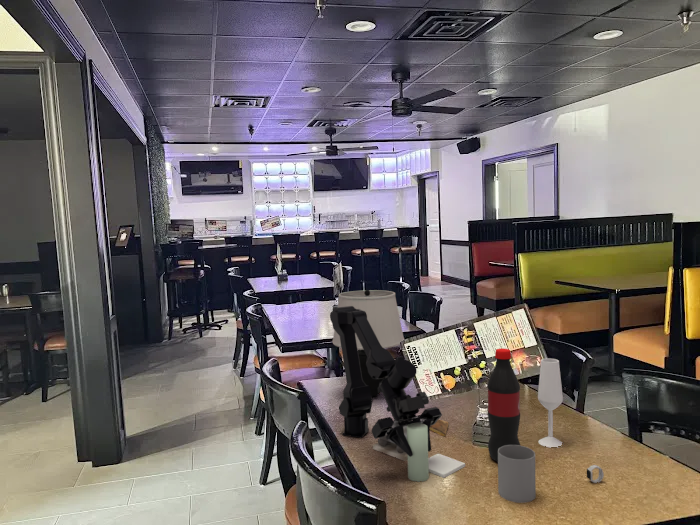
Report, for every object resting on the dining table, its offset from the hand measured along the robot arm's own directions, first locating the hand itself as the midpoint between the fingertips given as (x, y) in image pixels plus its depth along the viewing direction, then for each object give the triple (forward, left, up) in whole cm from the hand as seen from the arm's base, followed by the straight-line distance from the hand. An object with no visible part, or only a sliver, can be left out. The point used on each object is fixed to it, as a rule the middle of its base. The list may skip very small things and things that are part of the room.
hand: (420, 453), depth 134 cm
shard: (-3, +34, -7) cm, 35 cm away
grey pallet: (-10, +15, -7) cm, 20 cm away
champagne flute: (+29, +33, -7) cm, 45 cm away
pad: (+3, +8, -7) cm, 11 cm away
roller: (-1, +1, -7) cm, 7 cm away
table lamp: (-36, +58, -7) cm, 69 cm away
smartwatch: (+40, +12, -7) cm, 42 cm away
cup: (+23, 0, -7) cm, 24 cm away
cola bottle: (+18, +18, -7) cm, 27 cm away
